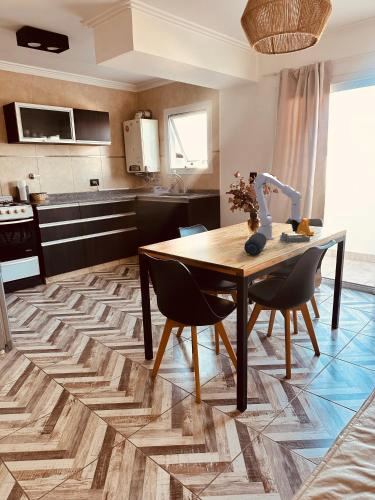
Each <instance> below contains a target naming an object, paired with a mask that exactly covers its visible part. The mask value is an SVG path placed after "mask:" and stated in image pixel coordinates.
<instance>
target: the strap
mask: <svg viewBox="0 0 375 500" xmlns="http://www.w3.org/2000/svg"><path fill="white" fill-rule="evenodd" d="M285 234H286V233H285ZM285 234H283V236H284V237H285ZM287 234H288V236H303V234H295V233H287Z"/></svg>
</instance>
